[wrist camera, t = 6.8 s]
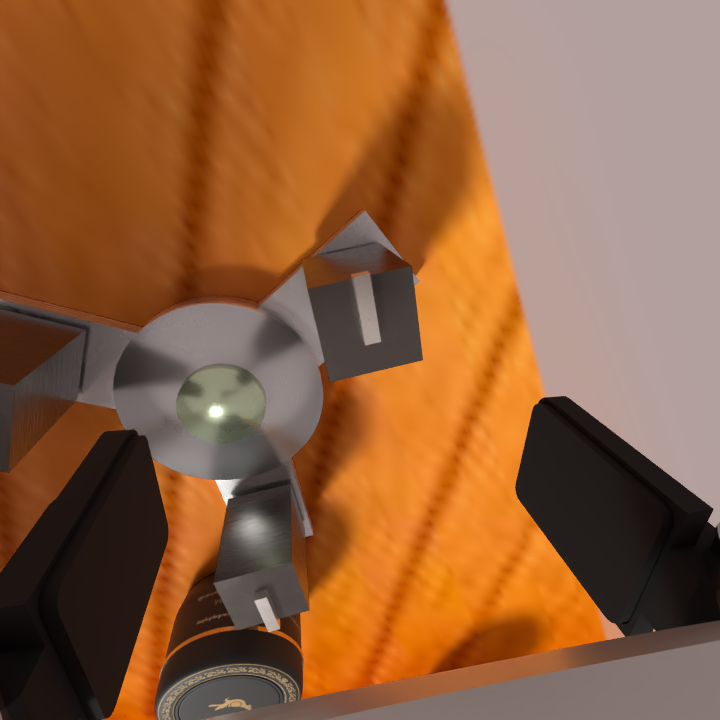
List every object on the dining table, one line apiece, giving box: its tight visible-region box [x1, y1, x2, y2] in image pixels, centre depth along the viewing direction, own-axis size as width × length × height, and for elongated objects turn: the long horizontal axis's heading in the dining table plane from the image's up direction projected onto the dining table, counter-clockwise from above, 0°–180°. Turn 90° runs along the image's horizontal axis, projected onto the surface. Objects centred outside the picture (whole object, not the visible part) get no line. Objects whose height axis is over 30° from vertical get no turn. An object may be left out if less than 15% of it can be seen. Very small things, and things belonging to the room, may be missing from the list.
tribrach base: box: [0, 209, 419, 537], centre depth 26 cm, size 26×22×3 cm
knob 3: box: [301, 243, 423, 382], centre depth 20 cm, size 5×4×7 cm
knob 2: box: [213, 484, 309, 632], centre depth 26 cm, size 5×4×7 cm
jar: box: [155, 573, 304, 720], centre depth 31 cm, size 10×10×8 cm
